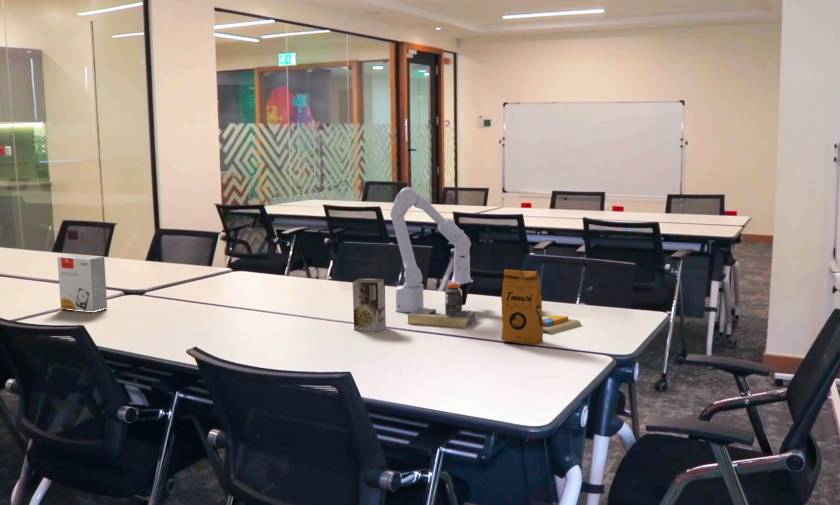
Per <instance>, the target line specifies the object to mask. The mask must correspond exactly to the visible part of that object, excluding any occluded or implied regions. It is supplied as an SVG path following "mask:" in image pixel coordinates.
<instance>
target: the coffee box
mask: <svg viewBox="0 0 840 505" xmlns="http://www.w3.org/2000/svg"><path fill="white" fill-rule="evenodd" d="M385 280H386V279H385V278H384V279H383V278H358V279H355V280H353V281H351V282H352V299H353V300H352V301H353V303H352V304H353V306H352V307H353V310H352V311H353V330H354V329H356V330H355V331H365V330H367V331H368V332H380V331H383V330H384V329H385V328H386V326H387V324H386V323H387V322H386V320H387V319H386V290H385V289H386V284H385Z"/></svg>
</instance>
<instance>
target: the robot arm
mask: <svg viewBox="0 0 840 505" xmlns="http://www.w3.org/2000/svg"><path fill="white" fill-rule="evenodd" d="M413 206H414V208H417V209H420V210H422V211H423V212H425V214H427V215H428V216H429V217H430V218H431V219H432V220H433V221H434V223H436V224H437V230H438V231H439V232H440V233H441V235H442V236H443V237H445V239H446V240H448V242H451V243H452V245H453V246H454V249H453V250H454V254H453V281H452V283H459V288H460V289H461V290H462V306H465V305H466V303H467V298H468V295H469V292H470V289H471V286H472V284H468V283H473V282H474V279H472V277H471V255H470V248H471V246H472V242H471V240H470V238H469V236H468V235H467V234H466V233H465V231H464V230H463V229H461V228H459V227H458V225H457V224H456V223H455V222H456V221H455V220H454V219H453V218H452V219H451V218H449V217H443V215H441V213H440V212H439V211H438V210H437V208H435V207H434V206H433V205H432V204H431V203H430V202H429V201H428V200H427V199H426V197H424V196H422V195H421V194H420V193H419V192H416V191H415V189H413V188H412V187H409V186H405V187H403V188H401V189H400V191H399V192H398V193H397V194H396V196H395V199H394V201H393V205H392V206H391V207H392V208H391V210H390V219H391V222H392V226H393V229H394V234H395V237H396V241H397V244H398V249H399V252H400V256H401V260H402V264H403V267H404V272H403V277H404V283H403V284H402V285H398V286H397V288H396V292H395V312H398V313H399V312H401V313H412V312H414V311H416V310H418V309H420V308H423V309H428V307H424V284H423V283H422V282H423V274H422V271H421V269H420V268H419V266H418V265H417V262H416V258H415V253H414V250H413V247H412V242H411V239H410V235H409V231H408V227H407V224H406V220H405V215H406V214H407V213H408V211H409V209H410V208H412V207H413Z"/></svg>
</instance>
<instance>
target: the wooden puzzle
mask: <svg viewBox="0 0 840 505" xmlns="http://www.w3.org/2000/svg"><path fill="white" fill-rule="evenodd" d="M542 319H543V332H547V333H548V334H549V335H553V334H558V333H561V332H565V331H568V330H573V329H575V328H579V327H581V325H582V323H581V321H580V320H579V319H573V318H572V319H571V318H569V317H568V316H566V315H552V314H543V313H542Z"/></svg>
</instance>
